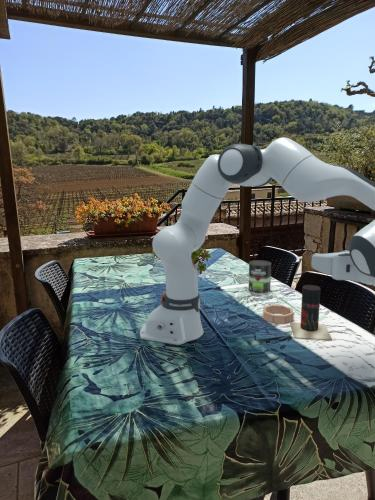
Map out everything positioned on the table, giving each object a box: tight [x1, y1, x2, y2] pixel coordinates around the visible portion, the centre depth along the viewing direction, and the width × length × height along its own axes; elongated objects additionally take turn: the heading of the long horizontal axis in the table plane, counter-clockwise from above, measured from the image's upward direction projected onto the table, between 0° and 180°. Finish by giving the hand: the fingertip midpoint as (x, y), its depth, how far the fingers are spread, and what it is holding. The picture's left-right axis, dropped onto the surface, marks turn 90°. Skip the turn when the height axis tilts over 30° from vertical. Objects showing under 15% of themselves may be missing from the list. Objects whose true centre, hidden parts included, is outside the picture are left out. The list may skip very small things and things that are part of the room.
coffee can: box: [248, 259, 272, 296], centre depth 160 cm, size 10×10×14 cm
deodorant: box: [300, 284, 322, 331], centre depth 119 cm, size 6×6×15 cm
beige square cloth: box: [289, 321, 333, 341], centre depth 119 cm, size 12×12×1 cm
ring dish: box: [262, 304, 295, 325], centre depth 131 cm, size 11×11×3 cm
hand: (329, 254), depth 103 cm, fingers open, 8 cm apart
